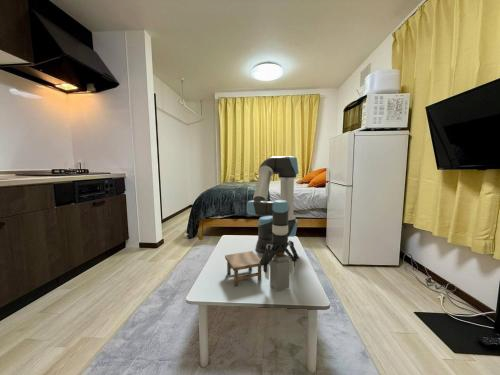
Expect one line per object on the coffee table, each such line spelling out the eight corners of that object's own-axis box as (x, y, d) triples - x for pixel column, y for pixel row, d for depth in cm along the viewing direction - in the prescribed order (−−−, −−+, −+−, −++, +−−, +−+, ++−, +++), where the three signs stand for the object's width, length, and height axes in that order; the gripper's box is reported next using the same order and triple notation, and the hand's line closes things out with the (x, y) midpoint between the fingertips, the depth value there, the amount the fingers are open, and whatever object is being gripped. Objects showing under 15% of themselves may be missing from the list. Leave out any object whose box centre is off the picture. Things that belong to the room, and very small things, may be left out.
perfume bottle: (270, 284, 109) (270, 249, 107) (281, 281, 111) (282, 247, 110) (276, 291, 103) (277, 254, 101) (289, 288, 105) (289, 252, 103)
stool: (252, 267, 126) (252, 251, 125) (264, 281, 112) (264, 262, 111) (225, 272, 120) (224, 255, 120) (234, 287, 106) (233, 267, 105)
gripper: (297, 228, 112) (297, 268, 114) (252, 233, 103) (252, 276, 105) (306, 232, 106) (305, 274, 107) (259, 238, 96) (259, 284, 98)
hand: (279, 275), depth 106 cm, fingers open, 13 cm apart
